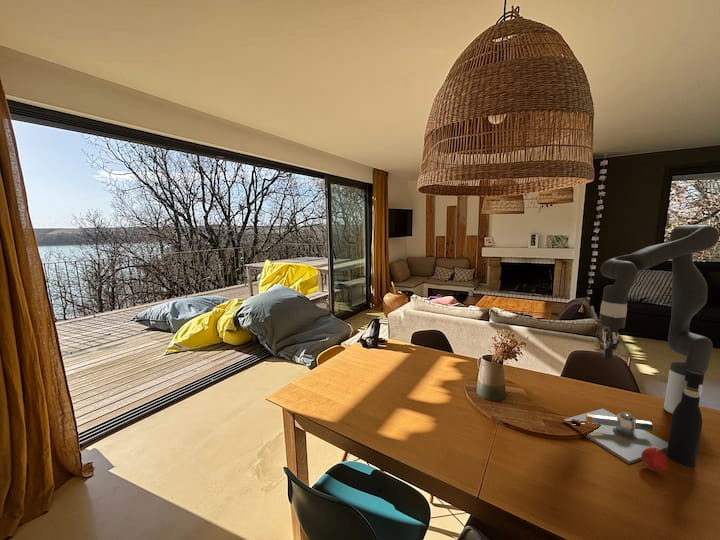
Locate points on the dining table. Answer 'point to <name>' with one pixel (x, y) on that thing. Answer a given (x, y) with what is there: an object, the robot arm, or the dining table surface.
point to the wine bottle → (686, 422)
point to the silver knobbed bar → (621, 423)
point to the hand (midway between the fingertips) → (607, 357)
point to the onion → (654, 459)
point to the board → (621, 439)
